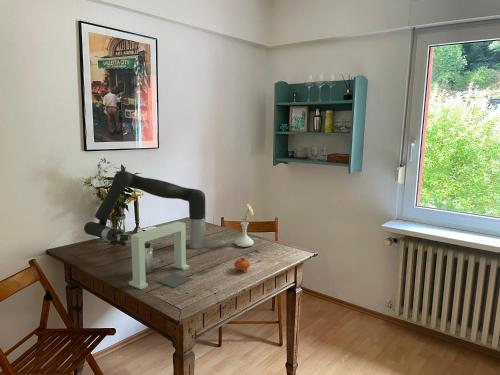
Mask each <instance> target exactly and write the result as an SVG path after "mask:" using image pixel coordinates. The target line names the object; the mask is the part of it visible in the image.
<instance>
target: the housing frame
mask: <svg viewBox="0 0 500 375" xmlns="http://www.w3.org/2000/svg"><path fill="white" fill-rule="evenodd" d="M171 234H173V247H174V248H173V253H174V254H173V263H172V265H171V266H172V267H173V268H177V269H179V270H183V271H185V270H187V269H189V268H190V265H189V264H187V257H186V256H187V250H186V247H187V246H186V245H187V244H186V243H187V242H186V241H187V240H186V236H187V234H186V223H185V222H181V221H175V222H172V223H168V224H165V225H161V226H158V227H154V228H151V229H148V230H144V231H140V232H137V233H135V234H133V235H131V241H130V242H131V266H132V268H131V269H132V280H130V281H128V285H130V286H131V287H134V288H136V289H139V290H143V289H145V288H147V287H149V283H147V282H146V276H147V275H146V273H145V243H148V242H150V241H152V240H156V239H159V238H163V237H165V236H168V235H171Z"/></svg>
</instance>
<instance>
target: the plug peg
mask: <svg viewBox="0 0 500 375" xmlns="http://www.w3.org/2000/svg"><path fill="white" fill-rule="evenodd" d="M144 245H145V274H146V273H147V274H149V273H153V271H154V257H153V254H154V252H153V246H152V245H151V242H144Z"/></svg>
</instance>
